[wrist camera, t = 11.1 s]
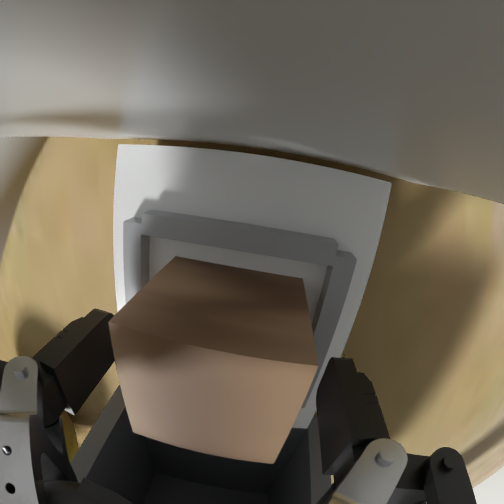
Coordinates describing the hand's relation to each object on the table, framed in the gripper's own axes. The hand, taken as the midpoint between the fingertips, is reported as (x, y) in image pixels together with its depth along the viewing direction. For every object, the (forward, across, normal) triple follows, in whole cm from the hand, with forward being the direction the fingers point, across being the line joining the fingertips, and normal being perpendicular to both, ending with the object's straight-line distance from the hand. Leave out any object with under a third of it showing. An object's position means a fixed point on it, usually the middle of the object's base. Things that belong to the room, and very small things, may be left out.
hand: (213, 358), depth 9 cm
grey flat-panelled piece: (+4, 0, -1) cm, 4 cm away
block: (+2, 0, 0) cm, 2 cm away
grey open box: (+4, 0, +16) cm, 16 cm away
